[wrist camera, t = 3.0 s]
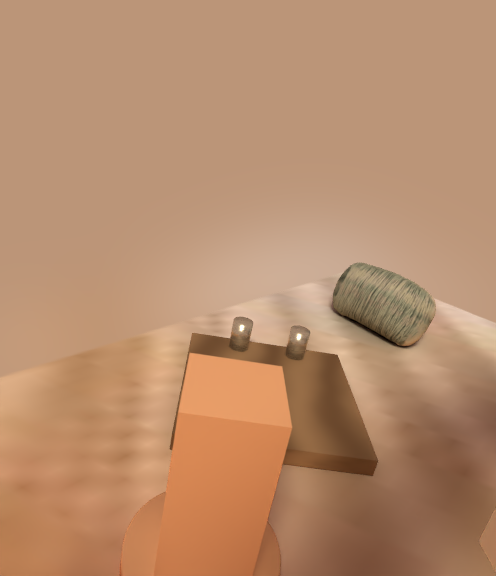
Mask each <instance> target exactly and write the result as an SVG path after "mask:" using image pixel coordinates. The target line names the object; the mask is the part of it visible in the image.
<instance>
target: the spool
mask: <svg viewBox="0 0 496 576" xmlns="http://www.w3.org/2000/svg"><path fill="white" fill-rule="evenodd" d="M333 307H334V308H335V309H336V310H337V311H338V312H339V313H340V314H341V315H343V316H347V317H349V318H351V319H353V320H356V321H357V322H359V323H361V324H363V325H365V326H366V327H368V328H370V329H371V330H373V331H375V332H377V333H378V334H380V335H382V336H384V337H386V338H387V339H389V340H391V341H393V342H395V343H396V344H398V345H400V346H409V345H411V344H413V343H415V342H416V341H418V340H419V339H420V338H421V337H422V335H423V334H424V333H425V332H426V330H427V329H428V327H429V325H430V323H431V321H432V320H433V318H434V316H435V312H436V306H435V300H434V299H433V297H432V296H431V295H430V294H429V293H428V292H427V291H426V290H425V289H423V288H422V287H420V286H419V285H417V284H416V283H414V282H412V281H410V280H408V279H406V278H404V277H402V276H400V275H398V274H396V273H393V272H390V271H387V270H384V269H382V268H378V267H375V266H372V265H368V264H365V263H355V264H353V265H351V266H350V267H349V268H348V269H347V270H346V271H345V272H344V273H343V274H342V276H341V277H340V278H339V280H338V282H337V284H336V287H335V290H334V293H333Z"/></svg>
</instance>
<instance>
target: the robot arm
mask: <svg viewBox="0 0 496 576" xmlns="http://www.w3.org/2000/svg"><path fill="white" fill-rule="evenodd" d="M479 543H480V545H481V547H482V549H483V550H484V552H485V554H486V556H487V558H488V560H489V561H490V563H491V565H492V567H493V569H494V571H495V572H496V508H495V510H494V512H493V514H492V516H491V518H490V520H489V521H488V523H487V525H486V527H485V529H484V531H483V533H482V535H481V537H480V539H479Z"/></svg>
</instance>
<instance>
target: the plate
mask: <svg viewBox="0 0 496 576" xmlns="http://www.w3.org/2000/svg"><path fill="white" fill-rule="evenodd" d="M229 343H230V338H223V337H217V336H210V335H203V334H197V333H192V337H191V342H190V347H189V352H188V357H187V362H186V367H185V372H184V377H183V382H182V387H181V392H180V397H179V402H178V407H177V412H176V417H175V422H174V427H173V432H172V438H171V445H170V449H171V450H173V443H174V436H175V430H176V423H177V417H178V411H179V405H180V400H181V395H182V390H183V385H184V380H185V375H186V369H187V364H188V359H189V354H190V353H195V354H202V355H208V356H215V357H222V358H229V359H235V360H242V361H249V362H256V363H262V364H269V365H276V366H282V368H283V374H284V380H285V386H286V393H287V399H288V405H289V411H290V417H291V423H292V431H291V434H290V438H289V442H288V445H287V449H286V453H285V457H284V460H283V464H287V465H294V466H302V467H310V468H318V469H325V470H333V471H341V472H348V473H356V474H364V475H371V476H373V474H374V471H375V468H376V466H377V463H378V459H377V457H376V454H375V451H374V449H373V446H372V444H371V441H370V438H369V436H368V433H367V431H366V428H365V425H364V423H363V420H362V418H361V415H360V412H359V410H358V407H357V405H356V402H355V399H354V397H353V394H352V392H351V389H350V386H349V384H348V381H347V379H346V376H345V373H344V371H343V368H342V366H341V363H340V360H339V358H338V355H335V354H328V353H322V352H315V351H309V350H306V351H305V355H304V358H303V359H302V360H293V359H290V358H288V357H287V356H286V355H285V352H286V348H287V347H282V346H276V345H269V344H263V343H256V342H249V346H248V350H247V351H244V352H238V351H234V350H232V349H231V348H230V347H229Z"/></svg>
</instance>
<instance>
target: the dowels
mask: <svg viewBox="0 0 496 576" xmlns="http://www.w3.org/2000/svg"><path fill="white" fill-rule="evenodd" d="M252 326H253V321H252V320H250V319H248V318H245V317H236V318H234V322H233V327H232V332H231V338H230V343H229V347H230V348H231V349H232V350H234V351H238V352H244V351H247V350H248V346H249V341H250V336H251V331H252ZM309 335H310V331H309V330H308V329H307V328H305V327H302V326H293V327H291V331H290V335H289V339H288V343H287V348H286V352H285V355H286V356H287V357H288V358H290V359H293V360H302V359H303V358H304V355H305V351H306V347H307V343H308V339H309Z"/></svg>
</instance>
